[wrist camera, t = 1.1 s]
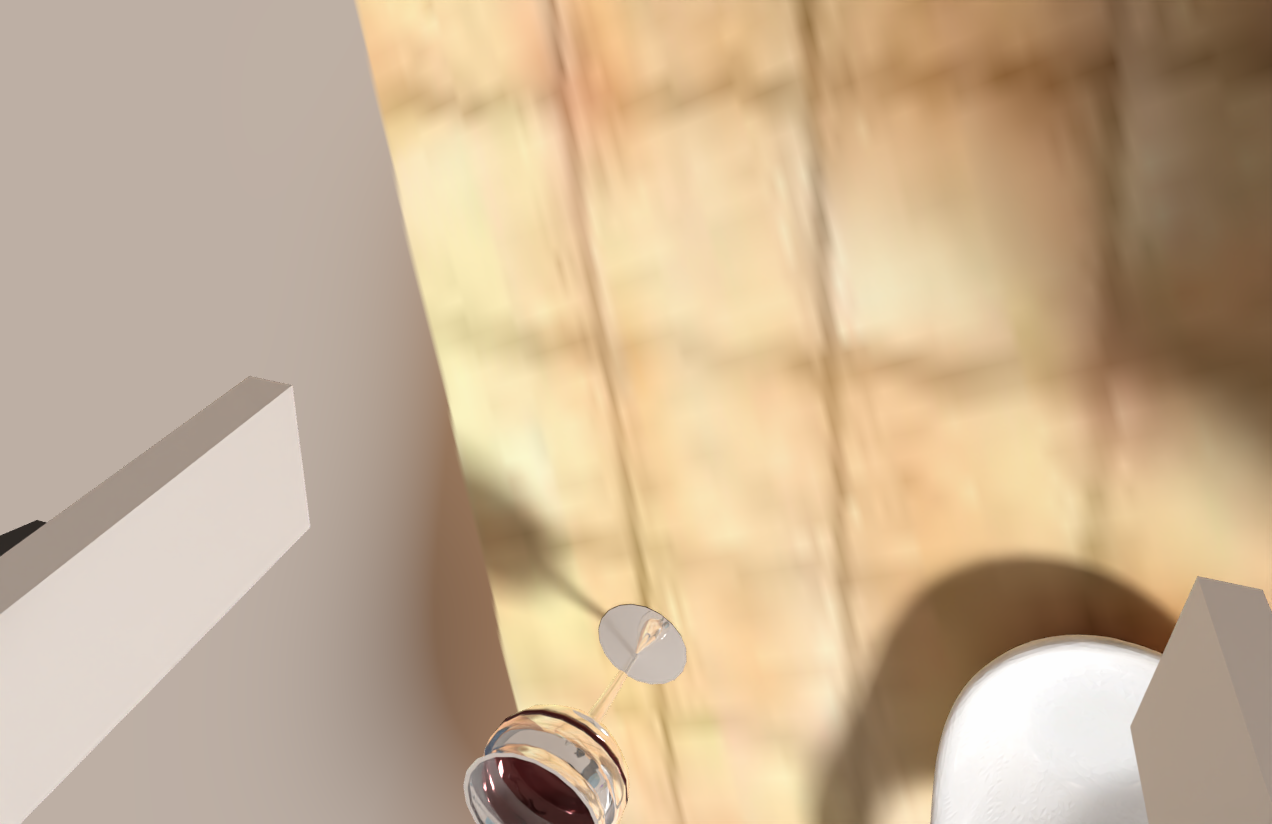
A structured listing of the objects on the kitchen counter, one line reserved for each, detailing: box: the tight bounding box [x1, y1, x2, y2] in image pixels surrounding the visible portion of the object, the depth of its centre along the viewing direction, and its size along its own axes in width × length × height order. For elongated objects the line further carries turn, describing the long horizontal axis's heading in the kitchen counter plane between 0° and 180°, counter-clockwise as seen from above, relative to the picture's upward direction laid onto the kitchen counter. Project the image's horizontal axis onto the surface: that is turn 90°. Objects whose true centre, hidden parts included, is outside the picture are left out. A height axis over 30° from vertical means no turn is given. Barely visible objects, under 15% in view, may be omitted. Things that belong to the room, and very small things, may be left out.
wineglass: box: [463, 605, 686, 824], centre depth 47 cm, size 7×7×12 cm
